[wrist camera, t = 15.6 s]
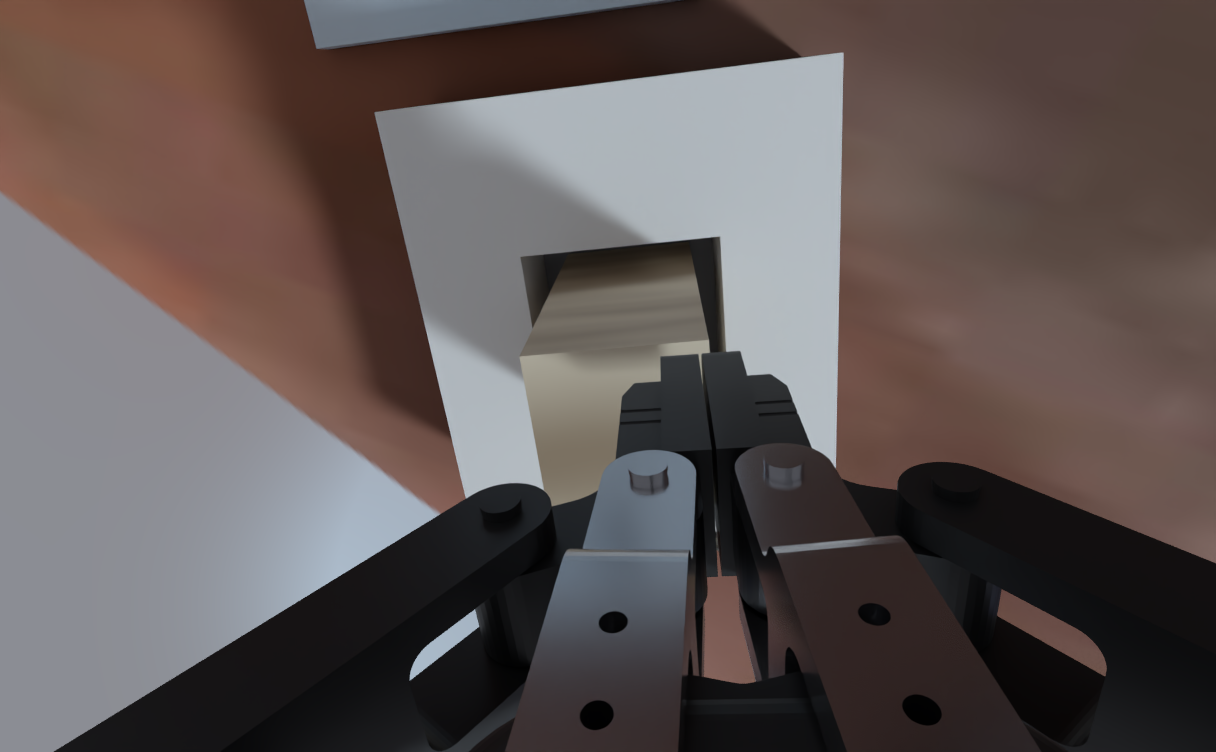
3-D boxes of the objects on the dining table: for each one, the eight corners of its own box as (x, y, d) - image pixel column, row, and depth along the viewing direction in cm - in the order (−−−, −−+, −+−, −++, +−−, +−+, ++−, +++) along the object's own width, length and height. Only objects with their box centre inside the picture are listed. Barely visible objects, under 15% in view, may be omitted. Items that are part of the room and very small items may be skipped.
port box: (422, 105, 22) (363, 113, 18) (802, 57, 21) (843, 52, 17) (498, 468, 28) (468, 545, 23) (804, 447, 27) (834, 524, 22)
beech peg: (568, 254, 23) (519, 356, 14) (688, 241, 22) (709, 339, 14) (584, 364, 24) (548, 512, 16) (696, 354, 24) (719, 501, 16)
